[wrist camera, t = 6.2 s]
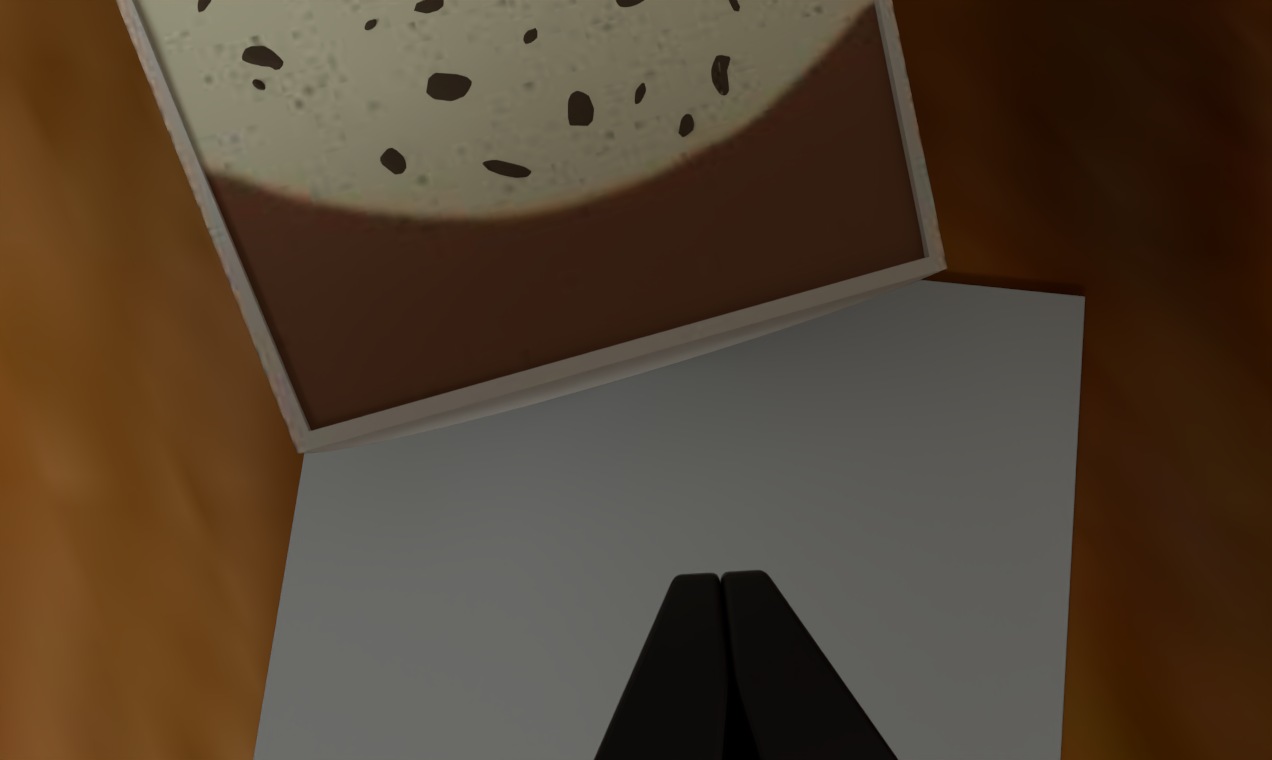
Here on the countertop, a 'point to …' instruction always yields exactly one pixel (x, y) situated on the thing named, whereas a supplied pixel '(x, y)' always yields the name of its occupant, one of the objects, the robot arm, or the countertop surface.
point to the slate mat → (706, 539)
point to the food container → (532, 187)
